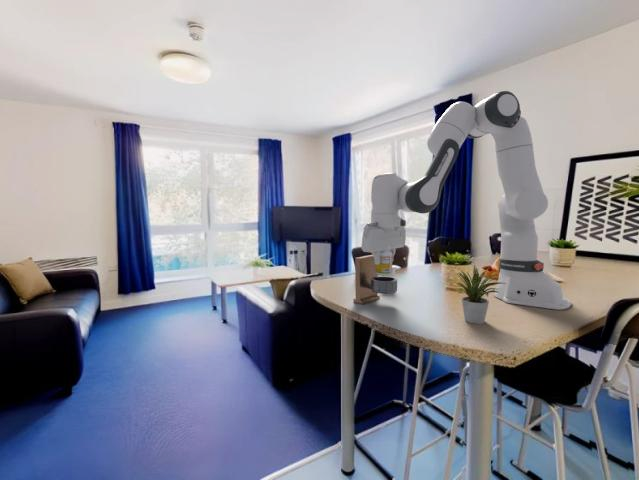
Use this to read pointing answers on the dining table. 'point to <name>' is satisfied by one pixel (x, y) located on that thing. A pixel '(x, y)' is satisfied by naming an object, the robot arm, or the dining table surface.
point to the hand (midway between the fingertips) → (384, 262)
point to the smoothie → (392, 272)
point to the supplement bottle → (385, 263)
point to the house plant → (476, 296)
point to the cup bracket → (371, 281)
